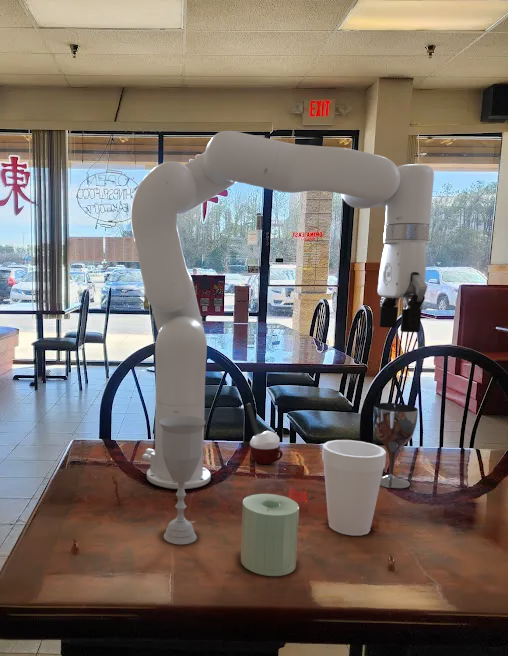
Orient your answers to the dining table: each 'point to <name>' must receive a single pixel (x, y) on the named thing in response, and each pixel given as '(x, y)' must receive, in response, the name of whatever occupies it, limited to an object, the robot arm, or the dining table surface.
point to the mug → (269, 534)
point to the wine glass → (394, 434)
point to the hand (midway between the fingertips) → (398, 329)
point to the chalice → (181, 467)
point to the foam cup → (352, 484)
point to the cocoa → (263, 442)
